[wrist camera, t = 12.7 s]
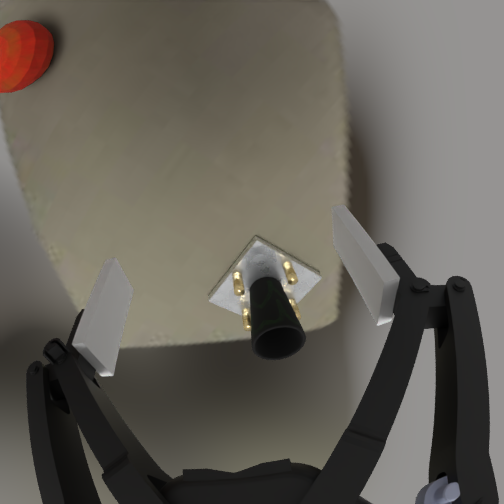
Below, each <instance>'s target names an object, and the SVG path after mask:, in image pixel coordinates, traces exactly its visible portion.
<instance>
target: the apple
mask: <svg viewBox="0 0 504 504" xmlns="http://www.w3.org/2000/svg"><path fill="white" fill-rule="evenodd" d="M53 49H54V41H53V37H52V34H51V33H50V32H49V31H48V30H47V29H46V28H45V27H43V26H42V25H41V24H39V23H37V22H33V21H29V20H21V21H14V22H11V23H9V24H6V25H5V26H4V27H2V28H1V29H0V93H9V92H15V91H18V90H21V89H23V88H25V87H26V86H28V85H30V84H32V83H33V82H34V81H35V80H37V79H38V78H39V77H41V75H42V74H43V73H44V72H45V70H46V69H47V68H48V67H49V64H50V61H51V59H52V56H53Z"/></svg>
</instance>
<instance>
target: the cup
mask: <svg viewBox="0 0 504 504" xmlns="http://www.w3.org/2000/svg"><path fill="white" fill-rule="evenodd" d="M249 293H250V317H251V340H252V350H253V352H254V353H255V354H256V355H257V356H258V357H261V358H263V359H267V360H280V359H283V358H287V357H289V356H292V355H293V354H295V353H297V352H298V351H299V350H300V349H301V348H302V347H303V345H304V343H305V340H306V336H305V333H304V331H303V329H302V326H301V324H300V322H299V320H298V318H297V316H296V314H295V312H294V310H293V308H292V305H291V303H290V301H289V299H288V297H287V295H286V293H285V291H284V289H283V287H282V285H281V283H280V281H279V280H277V279H276V278H273V277H263V278H260V279H257V280H256V281H255V282H253V284H252V285H251V287H250V290H249Z"/></svg>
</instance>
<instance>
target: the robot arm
mask: <svg viewBox="0 0 504 504" xmlns="http://www.w3.org/2000/svg"><path fill="white" fill-rule="evenodd" d="M332 222H333V243H334V248H335V249H336V251H337V253H338V255H339V256H340V258H341V260H342V261H343V263H344V265H345V267H346V268H347V270H348V272H349V274H350V276H351V278H352V279H353V281H354V283H355V285H356V287H357V288H358V290H359V292H360V294H361V296H362V298H363V300H364V301H365V303H366V305H367V307H368V309H369V311H370V313H371V314H372V317H373V319H374V321H375V323H376V325H377V326H378V325H381V324H384V323H387V322H390V321H391V320H392V315H393V313H394V315H395V317H394V320H393V323H392V326H391V329H390V332H389V334H388V337H387V340H386V343H385V345H384V348H383V350H382V353H381V355H380V358H379V360H378V363H377V365H376V368H375V370H374V373H373V375H372V377H371V380H370V382H369V384H368V386H367V389H366V391H365V393H364V395H363V397H362V400H361V402H360V404H359V406H358V408H357V410H356V412H355V414H354V416H353V418H352V420H351V423H350V424H349V426H348V428H347V429H346V430H345V432H344V433H343V435H342V437H341V439H340V440H339V442H338V444H337V445H336V447H335V449H334V451H333V452H332V454H331V456H330V458H329V459H328V461H327V463H326V464H325V466H324V468H323V469H322V470H320V469H318V468H316V467H313V466H311V465H306V464H302V463H291V462H290V459H284V460H278V461H272V462H266V463H261V464H259V465H256V466H253V467H250V468H248V469H245V470H242V471H239V472H236V473H231V472H224V471H218V470H212V469H184V470H183V475H181V476H178V477H176V478H174V479H172V478H171V477H170V476H169V475H167V474H166V473H165V472H164V471H163V470H162V469H161V468H160V467H159V466H158V465H157V464H156V462H155V461H154V460H153V459H152V457H150V455H149V454H148V453H147V451H146V450H145V449H144V447H143V446H142V445H141V443H140V442H139V441H138V440H137V438H136V437H135V435H134V434H133V433H132V431H131V430H130V429H129V427H128V426H127V424H126V423H125V421H124V420H123V419H122V417H121V416H120V414H119V413H118V411H117V410H116V408H115V407H114V405H113V404H112V402H111V401H110V399H109V397H108V396H107V394H106V393H105V391H104V389H103V388H102V386H101V384H100V383H99V381H98V379H97V378H96V377H95V376H94V375H95V371H97V372H98V373H99V374H100V375H101V376H113V375H114V370H115V364H116V360H117V355H118V350H119V347H120V342H121V338H122V334H123V330H124V326H125V322H126V318H127V314H128V310H129V306H130V303H131V299H132V295H133V292H134V290H133V288H132V286H131V284H130V283H129V281H128V279H127V277H126V275H125V274H124V272H123V270H122V268H121V266H120V264H119V262H118V261H117V259H116V257H115V258H111V259H108V260H106V261H105V263H104V265H103V267H102V269H101V271H100V274H99V276H98V278H97V281H96V283H95V285H94V288H93V290H92V292H91V295H90V297H89V300H88V302H87V304H86V307H85V309H82V310H81V312H80V313H79V314H78V316H77V318H76V320H75V323H74V325H73V328H72V331H71V333H70V336H69V339H68V342H67V344H66V346H65V345H64V343H63V342H62V341H61V340H60V339H59V338H54V339H52V340H51V341H49V342H48V343H47V344H46V346H45V347H44V350H43V356H44V357H45V358H46V359H47V360H48V361H49V362H50V364H47V365H45V366H44V365H43V364H42V363H41V362H40V361H34V362H33V363H32V364H31V365H30V366H29V368H28V370H27V373H26V388H27V410H28V423H29V433H30V440H31V448H32V455H33V460H34V466H35V471H36V476H37V481H38V485H39V490H40V494H41V498H42V502H43V504H101V501H100V499H99V496H98V493H97V490H96V488H95V485H94V482H93V479H92V476H91V473H90V470H89V467H88V464H87V460H86V457H85V453H84V450H83V446H82V442H81V438H80V434H79V430H78V425H79V427H80V429H81V431H82V433H83V435H84V437H85V439H86V441H87V443H88V444H89V446H90V448H91V450H92V451H93V453H94V455H95V457H96V458H97V460H98V461H99V464H100V465H101V467H102V468H103V470H104V473H103V474H102V479H103V480H104V482H105V484H106V485H107V487H108V488H109V490H110V491H111V493H112V494H113V496H114V497H115V499H116V500H117V501H118V503H119V504H372V503H370V502H368V501H367V500H365V499H364V498H362V497H361V496H359V495H360V493H361V492H362V490H363V488H364V487H365V485H366V483H367V481H368V479H369V477H370V475H371V474H372V471H373V470H374V468H375V466H376V464H377V462H378V460H379V458H380V456H381V453H382V451H383V449H384V446H385V444H386V440H387V437H388V435H389V432H390V430H391V428H392V425H393V423H394V420H395V418H396V415H397V413H398V410H399V408H400V405H401V402H402V400H403V397H404V394H405V391H406V388H407V386H408V382H409V379H410V376H411V373H412V370H413V367H414V364H415V360H416V357H417V353H418V350H419V346H420V342H421V339H422V335H423V331H424V329H429V328H434V335H435V357H436V392H435V393H436V395H435V414H434V428H433V438H432V447H431V456H430V463H429V484H427V485H426V486H424V487H423V488H422V489H421V490H420V491H419V493H418V495H417V497H416V503H415V504H498V503H499V498H498V492H497V486H496V482H495V477H494V472H493V468H492V464H491V459H490V456H489V433H490V421H489V420H490V415H489V414H490V413H489V392H488V391H489V390H488V378H487V368H486V359H485V351H484V345H483V338H482V332H481V327H480V322H479V316H478V312H477V307H476V303H475V298H474V294H473V290H472V286H471V285H470V282H469V281H467V279H465V278H463V277H460V276H452V277H451V278H449V279H448V281H447V283H446V285H430V283H429V282H428V281H426V280H425V279H422V278H417V277H416V276H415V274H414V273H413V272H412V270H411V269H410V268H409V267H408V265H407V264H406V263H405V261H404V260H403V259H402V257H400V255H399V254H398V252H397V251H396V250H395V249H394V247H392V246H390V245H389V244H387V243H382V244H378V245H376V244H375V243H374V242H373V241H372V239H371V238H370V237H369V235H368V234H367V233H366V231H365V230H364V229H363V228H362V226H361V225H360V224H359V223H358V221H357V220H356V219H355V218H354V216H353V215H352V214H351V213H350V211H349V210H348V209H347V208H346V207H345V205H339V206H334V207H332ZM77 423H78V425H77Z"/></svg>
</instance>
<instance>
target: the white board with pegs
mask: <svg viewBox="0 0 504 504" xmlns="http://www.w3.org/2000/svg"><path fill="white" fill-rule="evenodd" d="M263 277H273V278H276V279H277V280H279V281H280V283H281V285H282V287H283V289H284V291H285V293H286V295H287V297H288V299H289V301H290V303H291V305H292V308H293V310H294V312H295V314H296V316H297V318H298V320H300V318H301V315H300V312H299V309H298V306H297V303H298V302H299V301H300V300H301V299H302V298H303V297H304V296H305V295H306V294H307V293H308V292H309V291H310V290H311V289H312V288H313V287H314V286H315V284H316V283H317V282H318V281H319V280H320V279H321V278H322V277H321V275H320V273H319V272H318V271H316V270H314V269H313V268H311V267H309V266H307V265H306V264H304V263H302V262H301V261H299V260H297V259H295V258H294V257H292V256H290V255H289V254H287V253H285V252H283V251H282V250H280V249H278V248H277V247H275V246H273V245H271V244H270V243H268V242H266V241H264V240H263V239H261V238H259V237H258V236H255V237H254V238H253V239H252V241H251V242H250V243H249V245H248V246H247V247H246V248H245V250H244V251H243V252H242V253H241V255H240V256H239V257H238V258H237V260H236V261H235V262H234V264H233V265H232V266H231V267H230V269H229V270H228V271H227V272H226V274H225V275H224V276H223V278H222V279H221V280H220V281H219V283H218V284H217V285H216V286H215V288H214V289H213V290H212V292H211V293H210V294H209V295H208V300H209V302H211V303H214V304H216V305H218V306H221V307H223V308H225V309H227V310H230V311H232V312H235V313H237V314H239V315H242V319H243V326H244V330H245V331H251V317H250V293H249V290H250V287H251V285H252V284H253V282H255V281H256V280H257V279H260V278H263Z"/></svg>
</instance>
